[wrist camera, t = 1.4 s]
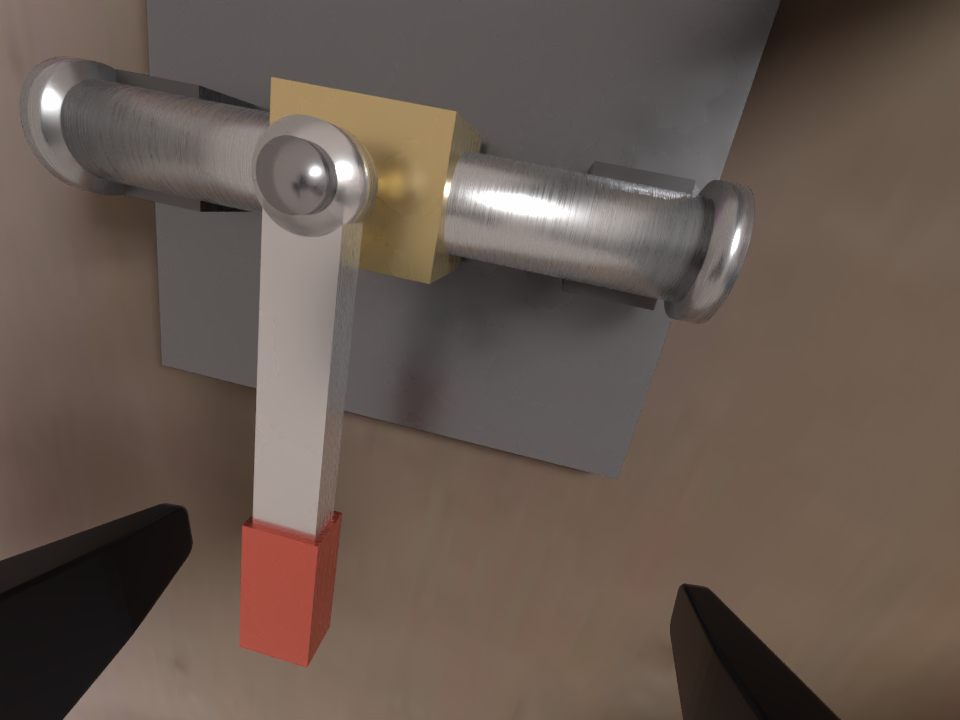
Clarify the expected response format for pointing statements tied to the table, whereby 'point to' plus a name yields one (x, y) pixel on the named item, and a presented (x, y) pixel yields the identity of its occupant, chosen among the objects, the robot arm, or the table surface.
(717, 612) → the robot arm
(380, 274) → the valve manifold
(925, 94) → the table surface
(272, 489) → the lever
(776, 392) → the table surface
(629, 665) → the table surface
